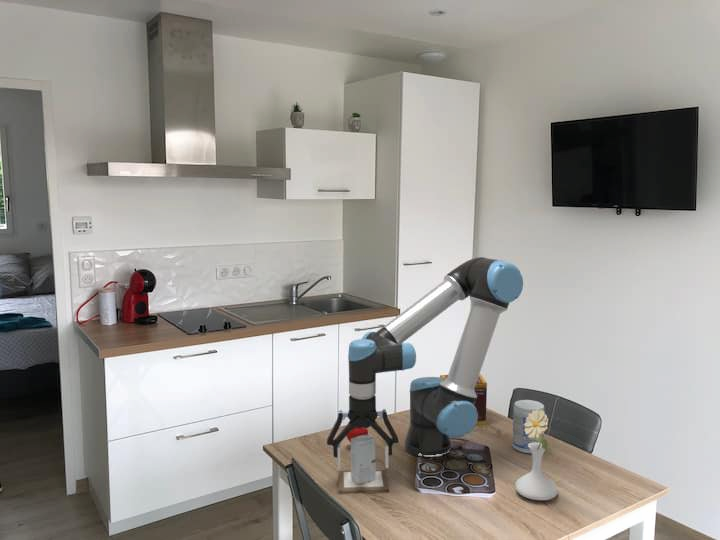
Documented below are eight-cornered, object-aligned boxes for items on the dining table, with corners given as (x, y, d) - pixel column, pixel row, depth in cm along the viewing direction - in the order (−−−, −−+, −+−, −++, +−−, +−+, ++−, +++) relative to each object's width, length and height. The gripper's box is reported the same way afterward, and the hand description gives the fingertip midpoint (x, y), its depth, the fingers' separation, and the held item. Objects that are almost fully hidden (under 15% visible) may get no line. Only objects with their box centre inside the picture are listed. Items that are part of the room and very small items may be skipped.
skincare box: (358, 484, 168) (358, 443, 167) (350, 478, 172) (349, 438, 170) (376, 479, 172) (376, 438, 170) (367, 472, 175) (367, 433, 174)
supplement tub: (524, 456, 188) (526, 411, 186) (506, 445, 196) (507, 401, 194) (549, 451, 191) (551, 407, 189) (530, 440, 200) (531, 397, 198)
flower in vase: (510, 483, 170) (512, 399, 167) (551, 484, 170) (554, 399, 167) (521, 508, 158) (523, 416, 154) (565, 508, 157) (568, 416, 154)
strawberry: (365, 453, 191) (365, 423, 190) (343, 450, 193) (342, 420, 192) (370, 446, 196) (370, 416, 195) (348, 443, 199) (348, 414, 197)
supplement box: (486, 425, 213) (487, 382, 211) (443, 426, 213) (443, 383, 211) (480, 414, 223) (481, 373, 221) (439, 415, 223) (439, 374, 221)
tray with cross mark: (385, 472, 178) (385, 468, 178) (389, 492, 166) (389, 488, 166) (338, 473, 178) (338, 469, 178) (338, 493, 166) (338, 489, 166)
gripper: (405, 389, 173) (405, 459, 176) (318, 391, 172) (319, 461, 175) (408, 398, 165) (408, 471, 168) (317, 400, 164) (318, 473, 167)
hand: (362, 466), depth 171 cm, fingers open, 13 cm apart
